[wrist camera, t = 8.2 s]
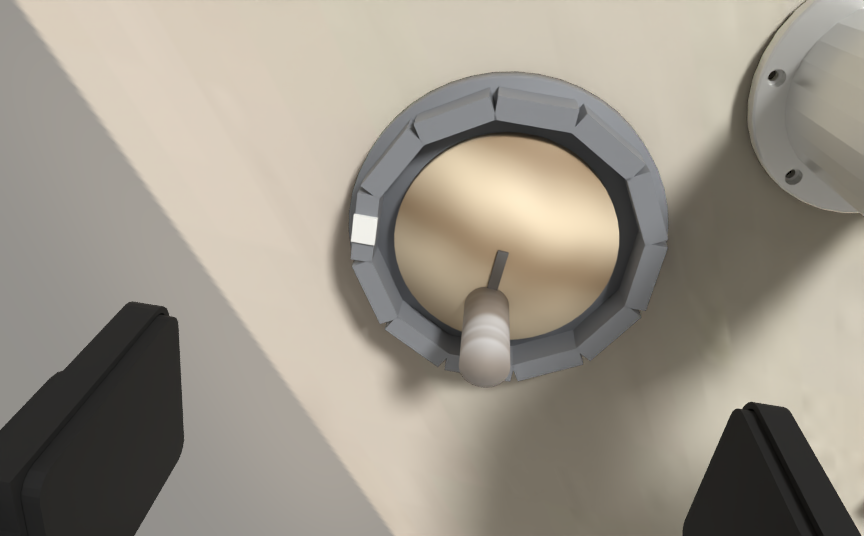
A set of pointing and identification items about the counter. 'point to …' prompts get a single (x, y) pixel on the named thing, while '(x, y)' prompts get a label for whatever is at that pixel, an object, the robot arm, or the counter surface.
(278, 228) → the counter surface
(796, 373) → the counter surface
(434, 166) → the dial
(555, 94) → the dial housing
